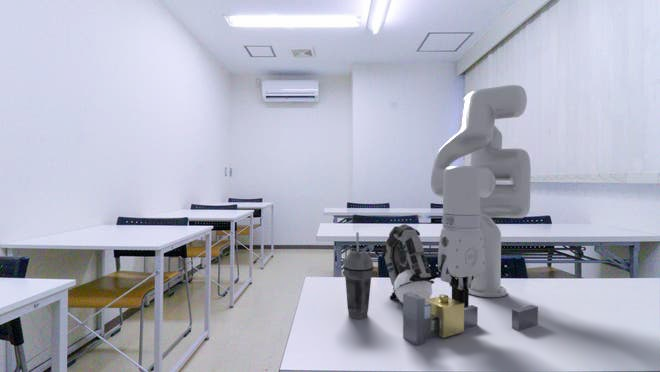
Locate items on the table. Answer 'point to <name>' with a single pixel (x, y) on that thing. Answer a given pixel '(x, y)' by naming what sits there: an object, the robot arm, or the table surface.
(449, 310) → the tan box with knob
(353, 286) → the beverage cup
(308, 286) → the table surface
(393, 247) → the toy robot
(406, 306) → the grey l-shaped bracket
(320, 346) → the table surface
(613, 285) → the table surface
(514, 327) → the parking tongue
